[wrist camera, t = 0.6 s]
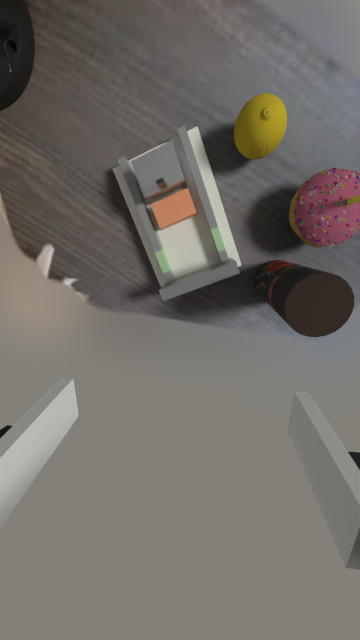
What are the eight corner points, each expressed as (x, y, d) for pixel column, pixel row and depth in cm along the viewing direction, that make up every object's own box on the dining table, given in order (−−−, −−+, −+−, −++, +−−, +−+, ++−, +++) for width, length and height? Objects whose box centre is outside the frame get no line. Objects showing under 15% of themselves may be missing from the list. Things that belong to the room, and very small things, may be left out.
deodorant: (249, 296, 38) (275, 330, 24) (260, 256, 36) (296, 266, 22) (289, 304, 38) (339, 342, 23) (302, 264, 36) (365, 279, 22)
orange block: (155, 207, 34) (150, 204, 32) (189, 192, 33) (187, 187, 31) (163, 229, 35) (159, 228, 32) (197, 214, 34) (196, 212, 31)
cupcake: (334, 163, 32) (405, 120, 20) (357, 225, 34) (434, 218, 22) (270, 201, 34) (302, 181, 22) (295, 258, 36) (336, 266, 24)
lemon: (235, 113, 31) (245, 73, 24) (280, 119, 31) (304, 80, 23) (227, 164, 33) (233, 141, 25) (269, 169, 33) (288, 148, 25)
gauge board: (115, 171, 35) (93, 154, 28) (197, 130, 32) (195, 100, 25) (164, 292, 39) (156, 303, 32) (240, 264, 37) (248, 270, 30)
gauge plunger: (141, 172, 33) (123, 154, 26) (176, 155, 32) (168, 131, 25) (153, 203, 34) (139, 194, 27) (188, 187, 33) (183, 173, 26)
